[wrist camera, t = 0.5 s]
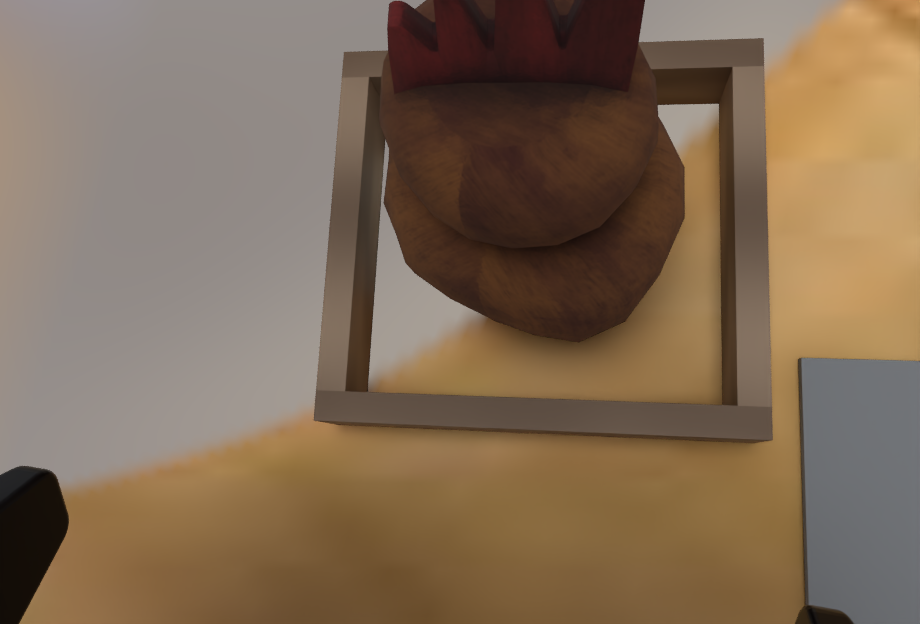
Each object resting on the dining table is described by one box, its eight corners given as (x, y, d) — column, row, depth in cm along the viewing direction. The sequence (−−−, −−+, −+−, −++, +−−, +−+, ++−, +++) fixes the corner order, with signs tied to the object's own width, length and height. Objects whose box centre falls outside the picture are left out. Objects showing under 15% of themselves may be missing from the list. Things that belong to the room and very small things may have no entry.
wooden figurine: (691, 204, 23) (877, -253, 8) (613, 387, 22) (667, 235, 8) (479, 125, 24) (324, -380, 10) (399, 295, 24) (108, 23, 9)
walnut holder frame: (753, 443, 21) (772, 439, 19) (338, 425, 23) (313, 420, 21) (746, 77, 23) (763, 38, 21) (364, 87, 25) (344, 52, 23)
